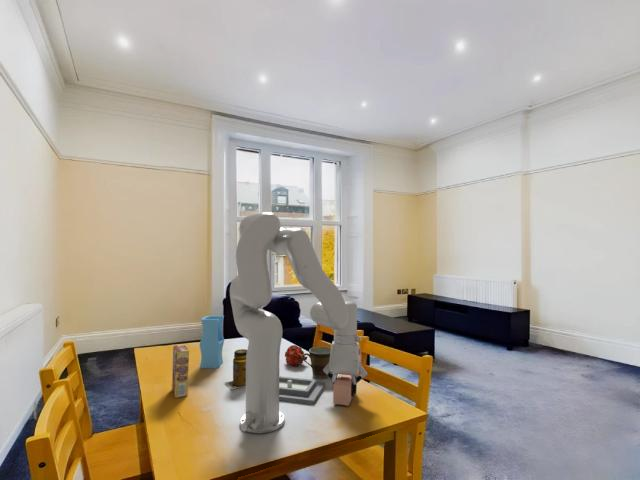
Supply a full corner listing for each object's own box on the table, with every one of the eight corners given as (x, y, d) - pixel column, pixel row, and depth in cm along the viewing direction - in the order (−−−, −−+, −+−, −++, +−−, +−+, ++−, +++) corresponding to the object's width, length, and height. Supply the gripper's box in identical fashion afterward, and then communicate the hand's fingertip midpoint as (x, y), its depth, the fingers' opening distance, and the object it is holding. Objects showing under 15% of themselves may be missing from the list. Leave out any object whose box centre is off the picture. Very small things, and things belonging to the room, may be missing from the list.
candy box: (189, 395, 119) (189, 350, 120) (175, 398, 117) (175, 352, 117) (184, 386, 127) (185, 343, 127) (171, 389, 125) (172, 345, 125)
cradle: (313, 404, 113) (313, 393, 113) (250, 396, 119) (250, 386, 119) (325, 385, 128) (325, 375, 128) (269, 379, 134) (269, 370, 134)
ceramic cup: (328, 370, 144) (328, 345, 145) (338, 378, 135) (338, 352, 135) (298, 374, 140) (298, 348, 140) (306, 383, 130) (306, 356, 131)
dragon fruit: (290, 363, 158) (301, 375, 147) (276, 354, 154) (287, 366, 143) (301, 346, 159) (313, 358, 149) (288, 338, 156) (299, 349, 145)
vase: (218, 368, 146) (218, 319, 147) (199, 368, 147) (199, 319, 147) (223, 361, 154) (224, 315, 155) (205, 361, 154) (206, 315, 155)
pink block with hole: (348, 405, 111) (348, 386, 111) (333, 403, 112) (333, 384, 112) (354, 390, 122) (355, 373, 122) (340, 389, 124) (340, 371, 124)
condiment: (253, 385, 129) (253, 351, 129) (231, 390, 124) (231, 355, 124) (246, 378, 135) (246, 347, 135) (224, 383, 130) (224, 350, 130)
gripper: (372, 338, 119) (371, 393, 119) (323, 334, 123) (322, 387, 123) (369, 344, 112) (368, 402, 111) (317, 339, 116) (316, 395, 116)
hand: (344, 393), depth 117 cm, fingers closed on pink block with hole, 5 cm apart
